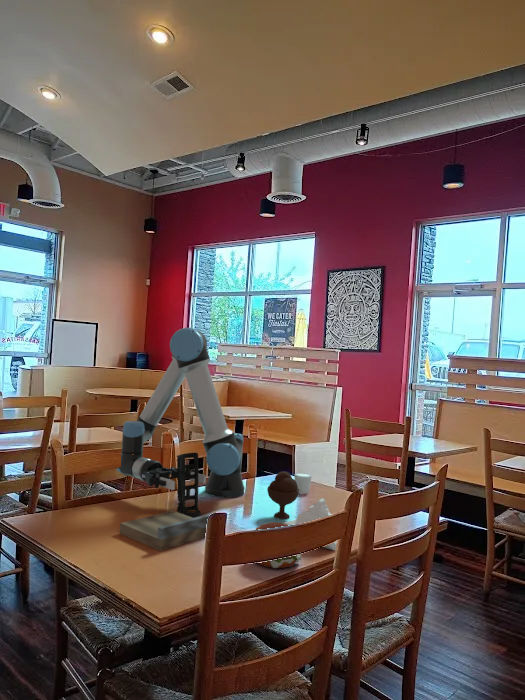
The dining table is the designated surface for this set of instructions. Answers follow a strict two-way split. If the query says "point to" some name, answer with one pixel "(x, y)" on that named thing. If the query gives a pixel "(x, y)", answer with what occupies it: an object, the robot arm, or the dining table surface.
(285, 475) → the ice cream bowl
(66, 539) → the dining table surface
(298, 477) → the white cup
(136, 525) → the board
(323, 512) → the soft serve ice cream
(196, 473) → the holder
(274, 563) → the burger
